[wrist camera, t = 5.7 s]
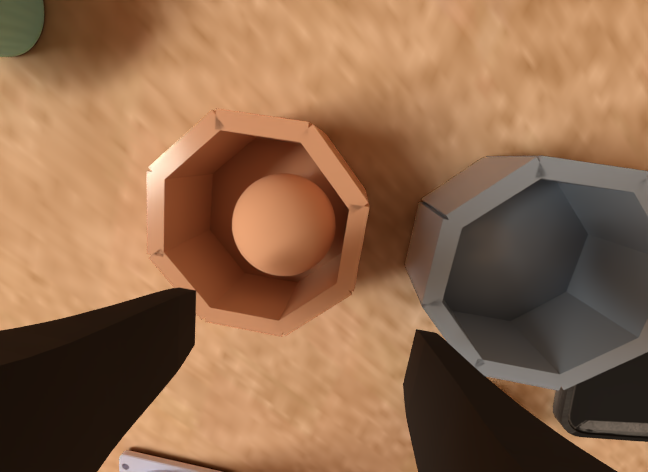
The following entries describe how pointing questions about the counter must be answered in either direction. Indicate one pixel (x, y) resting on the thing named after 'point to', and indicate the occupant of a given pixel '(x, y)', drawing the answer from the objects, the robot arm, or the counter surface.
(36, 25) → the cupcake
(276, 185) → the terracotta ball
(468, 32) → the counter surface
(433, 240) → the slate cup
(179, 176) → the terracotta octagonal bowl
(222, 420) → the counter surface
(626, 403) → the phone
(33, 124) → the counter surface
